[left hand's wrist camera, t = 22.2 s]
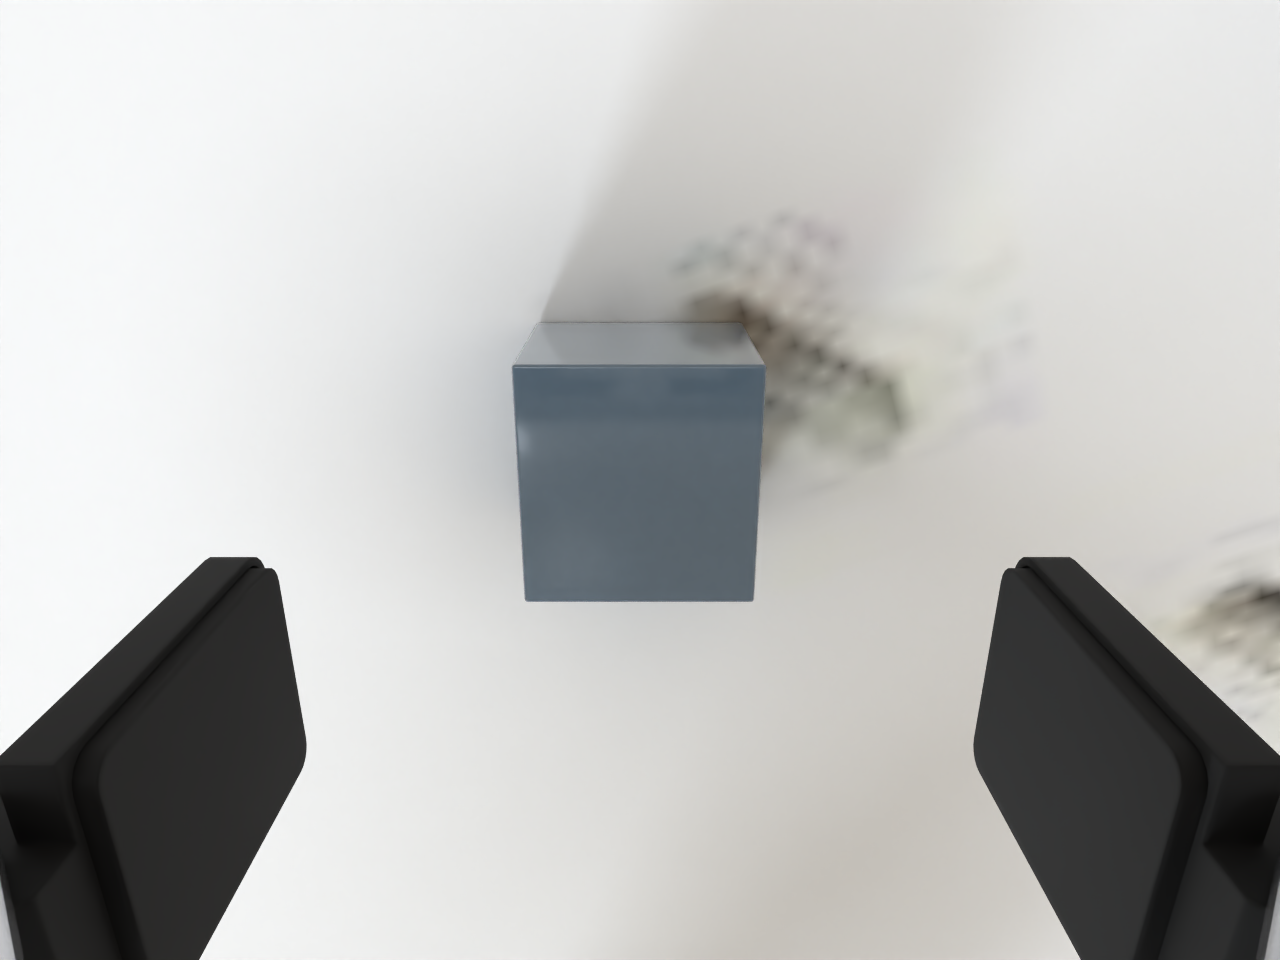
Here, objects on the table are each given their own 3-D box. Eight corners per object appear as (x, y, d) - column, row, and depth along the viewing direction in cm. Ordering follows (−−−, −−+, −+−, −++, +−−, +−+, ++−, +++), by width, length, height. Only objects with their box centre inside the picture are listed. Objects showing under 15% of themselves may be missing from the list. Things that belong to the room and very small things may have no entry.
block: (536, 322, 19) (511, 365, 16) (742, 321, 19) (766, 364, 16) (545, 521, 21) (524, 602, 17) (733, 521, 21) (754, 602, 17)
